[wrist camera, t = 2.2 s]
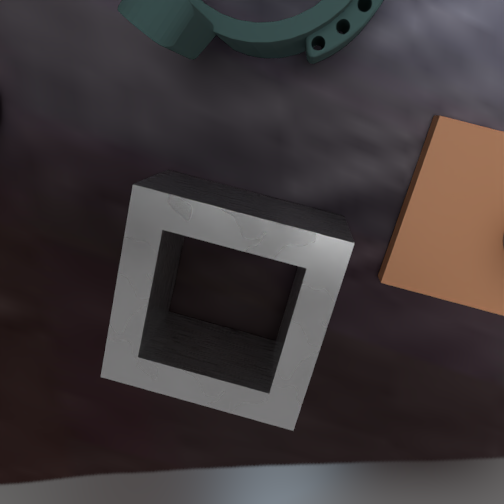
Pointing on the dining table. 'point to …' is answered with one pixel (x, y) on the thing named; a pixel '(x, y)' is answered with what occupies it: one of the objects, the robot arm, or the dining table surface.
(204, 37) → the bracket
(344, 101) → the dining table surface
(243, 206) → the white square sleeve
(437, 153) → the keeper
